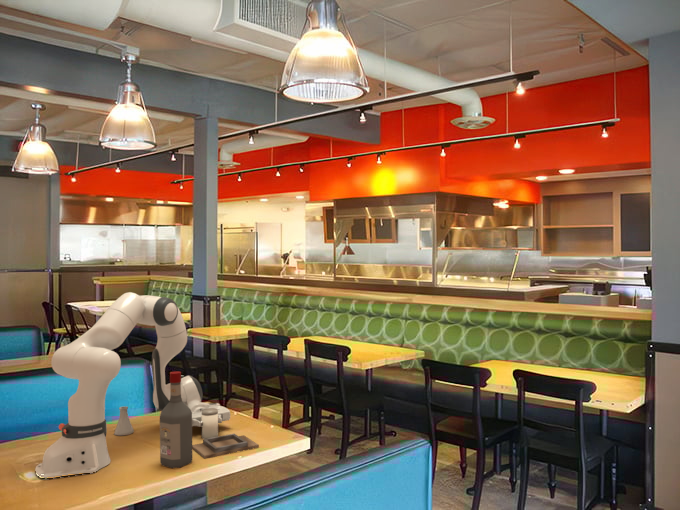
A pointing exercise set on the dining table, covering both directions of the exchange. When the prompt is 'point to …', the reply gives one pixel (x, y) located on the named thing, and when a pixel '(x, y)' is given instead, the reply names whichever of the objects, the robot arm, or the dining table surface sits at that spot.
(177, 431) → the liquor
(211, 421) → the spice jar
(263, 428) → the dining table surface
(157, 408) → the robot arm
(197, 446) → the locating board
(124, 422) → the flask
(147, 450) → the dining table surface
